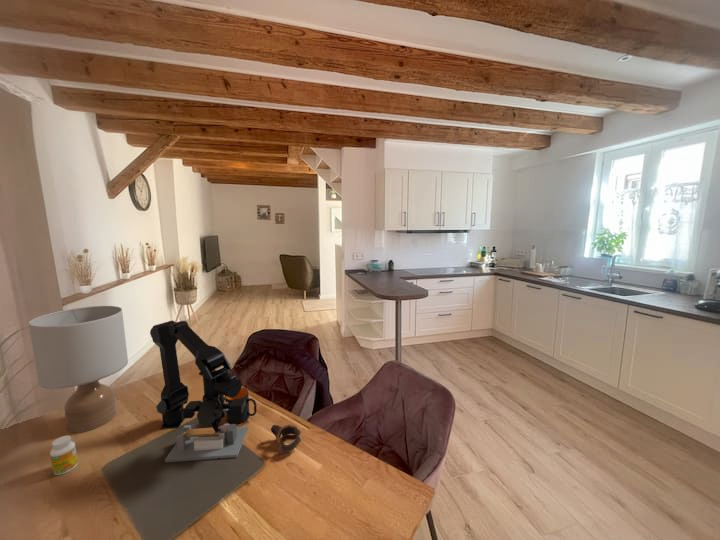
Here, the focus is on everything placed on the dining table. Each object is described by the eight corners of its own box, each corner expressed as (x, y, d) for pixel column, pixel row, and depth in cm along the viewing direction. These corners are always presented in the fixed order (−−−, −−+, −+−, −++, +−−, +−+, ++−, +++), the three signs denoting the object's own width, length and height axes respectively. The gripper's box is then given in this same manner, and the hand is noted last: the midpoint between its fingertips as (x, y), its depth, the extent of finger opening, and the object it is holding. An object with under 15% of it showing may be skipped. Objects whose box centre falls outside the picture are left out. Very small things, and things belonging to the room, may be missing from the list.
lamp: (53, 454, 93) (33, 332, 87) (43, 423, 108) (25, 316, 101) (141, 416, 112) (130, 313, 106) (123, 394, 127) (112, 302, 120)
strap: (180, 438, 96) (179, 434, 96) (184, 432, 99) (184, 428, 98) (225, 435, 97) (225, 431, 97) (228, 428, 100) (228, 425, 100)
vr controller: (306, 437, 104) (306, 427, 99) (292, 464, 97) (291, 456, 92) (278, 422, 107) (276, 412, 101) (262, 448, 100) (259, 439, 94)
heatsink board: (165, 462, 91) (163, 445, 90) (185, 433, 104) (183, 418, 103) (237, 457, 94) (236, 440, 93) (247, 429, 106) (247, 414, 106)
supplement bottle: (49, 478, 85) (44, 449, 83) (57, 465, 90) (53, 437, 88) (73, 471, 87) (69, 443, 86) (80, 458, 92) (76, 431, 91)
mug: (251, 427, 108) (250, 402, 106) (222, 423, 109) (220, 398, 108) (262, 413, 116) (261, 389, 114) (234, 410, 117) (233, 386, 116)
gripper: (171, 405, 87) (175, 450, 89) (235, 401, 89) (237, 446, 91) (188, 384, 98) (192, 426, 100) (245, 382, 100) (247, 422, 102)
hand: (216, 430), depth 98 cm, fingers closed, pressing on strap
